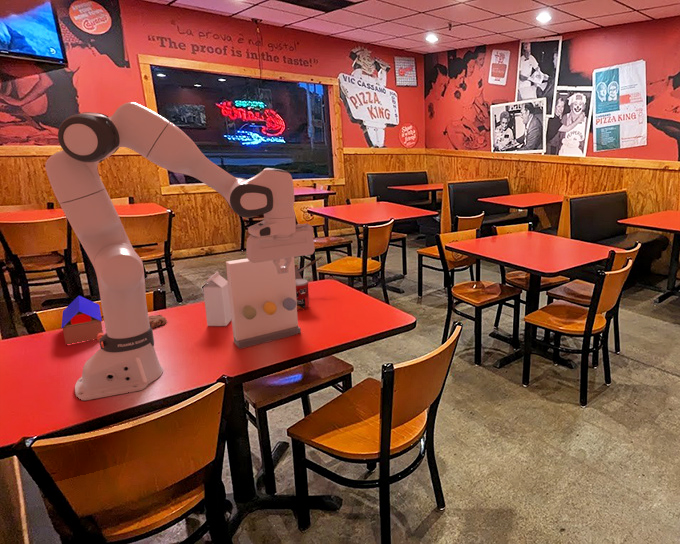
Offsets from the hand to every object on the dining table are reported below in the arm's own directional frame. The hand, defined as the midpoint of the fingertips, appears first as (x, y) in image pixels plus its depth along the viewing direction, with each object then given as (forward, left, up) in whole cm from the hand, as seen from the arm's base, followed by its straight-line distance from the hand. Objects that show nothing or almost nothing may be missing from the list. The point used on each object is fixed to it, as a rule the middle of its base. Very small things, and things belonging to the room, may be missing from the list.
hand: (282, 272), depth 129 cm
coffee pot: (+32, +55, -27) cm, 69 cm away
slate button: (+7, +13, -17) cm, 23 cm away
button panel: (0, +18, -27) cm, 32 cm away
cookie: (-32, +53, -28) cm, 68 cm away
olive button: (-7, +13, -17) cm, 23 cm away
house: (-54, +59, -28) cm, 85 cm away
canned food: (+22, +38, -27) cm, 52 cm away
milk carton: (-10, +40, -27) cm, 49 cm away
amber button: (0, +13, -17) cm, 22 cm away
